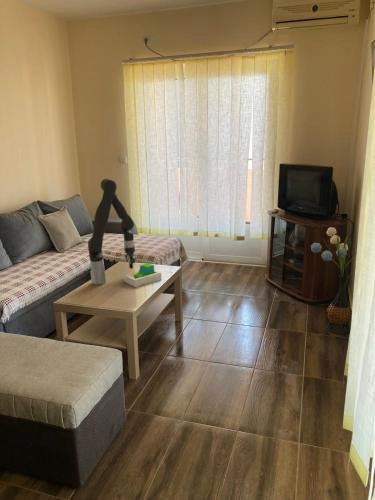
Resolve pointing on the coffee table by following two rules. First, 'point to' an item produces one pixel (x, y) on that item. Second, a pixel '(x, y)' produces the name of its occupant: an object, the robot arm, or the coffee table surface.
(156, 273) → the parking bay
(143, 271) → the toy car
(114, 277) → the coffee table surface
